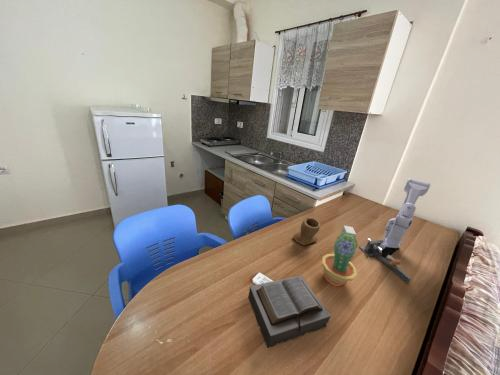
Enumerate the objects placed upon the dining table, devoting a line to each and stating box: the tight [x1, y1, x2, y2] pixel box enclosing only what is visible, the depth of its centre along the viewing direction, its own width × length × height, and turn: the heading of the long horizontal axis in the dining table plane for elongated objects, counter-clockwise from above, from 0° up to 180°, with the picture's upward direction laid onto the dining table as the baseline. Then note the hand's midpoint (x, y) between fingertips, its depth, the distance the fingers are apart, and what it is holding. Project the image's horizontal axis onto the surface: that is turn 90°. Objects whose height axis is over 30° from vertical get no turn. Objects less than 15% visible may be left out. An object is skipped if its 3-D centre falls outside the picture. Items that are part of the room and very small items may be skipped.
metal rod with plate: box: [366, 238, 402, 266], centre depth 113 cm, size 6×20×3 cm, turn 15°
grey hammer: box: [358, 239, 412, 284], centre depth 109 cm, size 12×26×7 cm, turn 14°
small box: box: [339, 225, 357, 238], centre depth 119 cm, size 8×6×10 cm
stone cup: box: [292, 217, 321, 246], centre depth 117 cm, size 15×12×15 cm
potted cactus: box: [321, 233, 359, 287], centre depth 90 cm, size 15×15×25 cm
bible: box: [247, 274, 332, 349], centre depth 75 cm, size 23×27×10 cm
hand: (385, 256), depth 110 cm, fingers closed on metal rod with plate, 3 cm apart
